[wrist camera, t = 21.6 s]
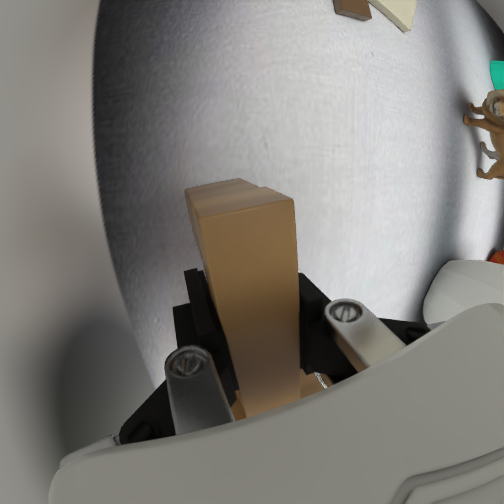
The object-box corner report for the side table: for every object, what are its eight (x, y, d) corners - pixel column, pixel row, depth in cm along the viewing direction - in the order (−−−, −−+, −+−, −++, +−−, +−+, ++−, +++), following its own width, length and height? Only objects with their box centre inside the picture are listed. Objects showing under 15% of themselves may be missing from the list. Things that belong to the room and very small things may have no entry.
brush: (146, 194, 9) (133, 234, 5) (274, 169, 10) (344, 189, 6) (220, 417, 15) (239, 475, 11) (290, 395, 17) (320, 446, 13)
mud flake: (329, -14, 12) (336, -18, 12) (358, -5, 13) (365, -9, 12) (335, 13, 14) (343, 9, 13) (364, 21, 14) (372, 18, 14)
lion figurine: (447, 98, 20) (516, 106, 12) (460, 77, 19) (521, 81, 11) (479, 188, 27) (530, 207, 19) (490, 163, 26) (538, 179, 18)
